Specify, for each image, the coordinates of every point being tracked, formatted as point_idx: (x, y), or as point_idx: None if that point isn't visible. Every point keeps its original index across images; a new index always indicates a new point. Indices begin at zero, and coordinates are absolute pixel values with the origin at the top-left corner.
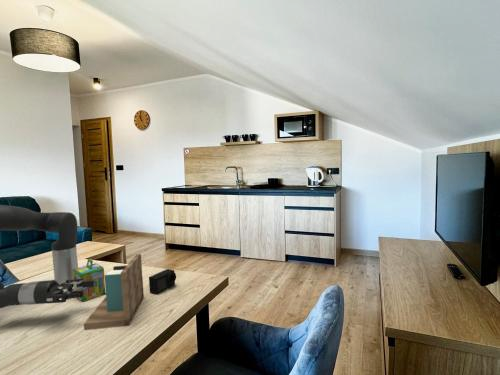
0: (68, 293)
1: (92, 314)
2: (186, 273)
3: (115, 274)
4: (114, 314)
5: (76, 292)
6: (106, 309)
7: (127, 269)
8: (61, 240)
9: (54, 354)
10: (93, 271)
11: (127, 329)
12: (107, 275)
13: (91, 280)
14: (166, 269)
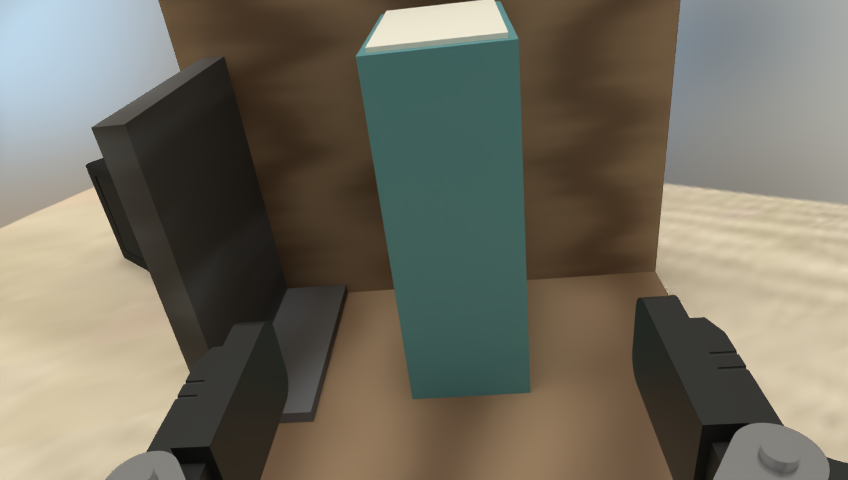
0: (805, 450)
1: None
2: (38, 221)
3: (501, 16)
4: (581, 334)
5: (704, 359)
6: (485, 412)
7: None
8: None
9: None
10: None
11: (691, 283)
12: (514, 34)
13: (229, 338)
14: (95, 164)
